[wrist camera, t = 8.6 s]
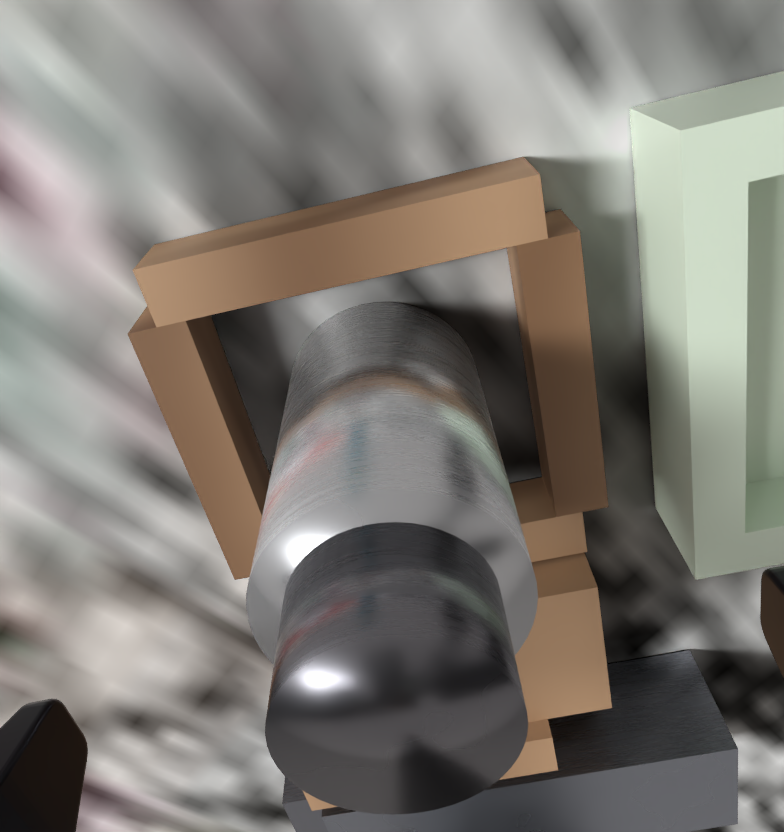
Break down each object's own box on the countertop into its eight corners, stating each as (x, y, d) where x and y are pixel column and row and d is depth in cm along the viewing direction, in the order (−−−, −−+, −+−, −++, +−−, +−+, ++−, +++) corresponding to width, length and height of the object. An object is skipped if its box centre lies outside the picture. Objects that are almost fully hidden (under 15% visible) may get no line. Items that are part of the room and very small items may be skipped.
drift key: (689, 649, 20) (737, 748, 17) (692, 722, 21) (737, 823, 19) (285, 721, 21) (274, 824, 18) (314, 786, 22) (308, 890, 20)
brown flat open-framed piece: (553, 150, 14) (597, 186, 11) (624, 766, 22) (658, 869, 20) (127, 251, 14) (72, 309, 12) (357, 810, 23) (356, 915, 20)
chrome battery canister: (460, 282, 15) (550, 571, 7) (492, 449, 17) (588, 810, 9) (266, 326, 15) (166, 644, 8) (319, 484, 17) (280, 858, 10)
